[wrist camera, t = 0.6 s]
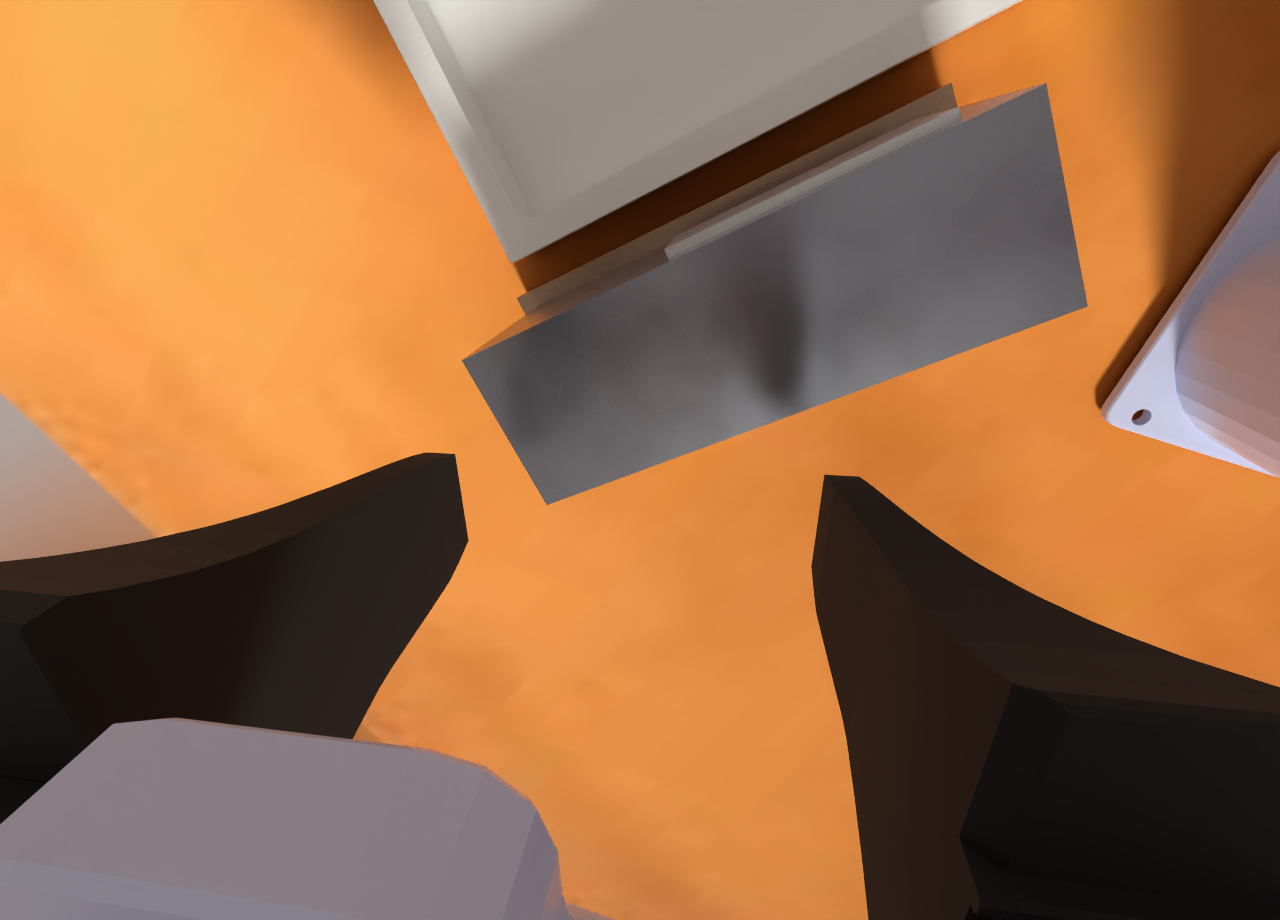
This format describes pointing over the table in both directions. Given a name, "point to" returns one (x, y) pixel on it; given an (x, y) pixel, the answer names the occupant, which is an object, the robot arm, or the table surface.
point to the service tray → (636, 88)
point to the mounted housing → (791, 291)
